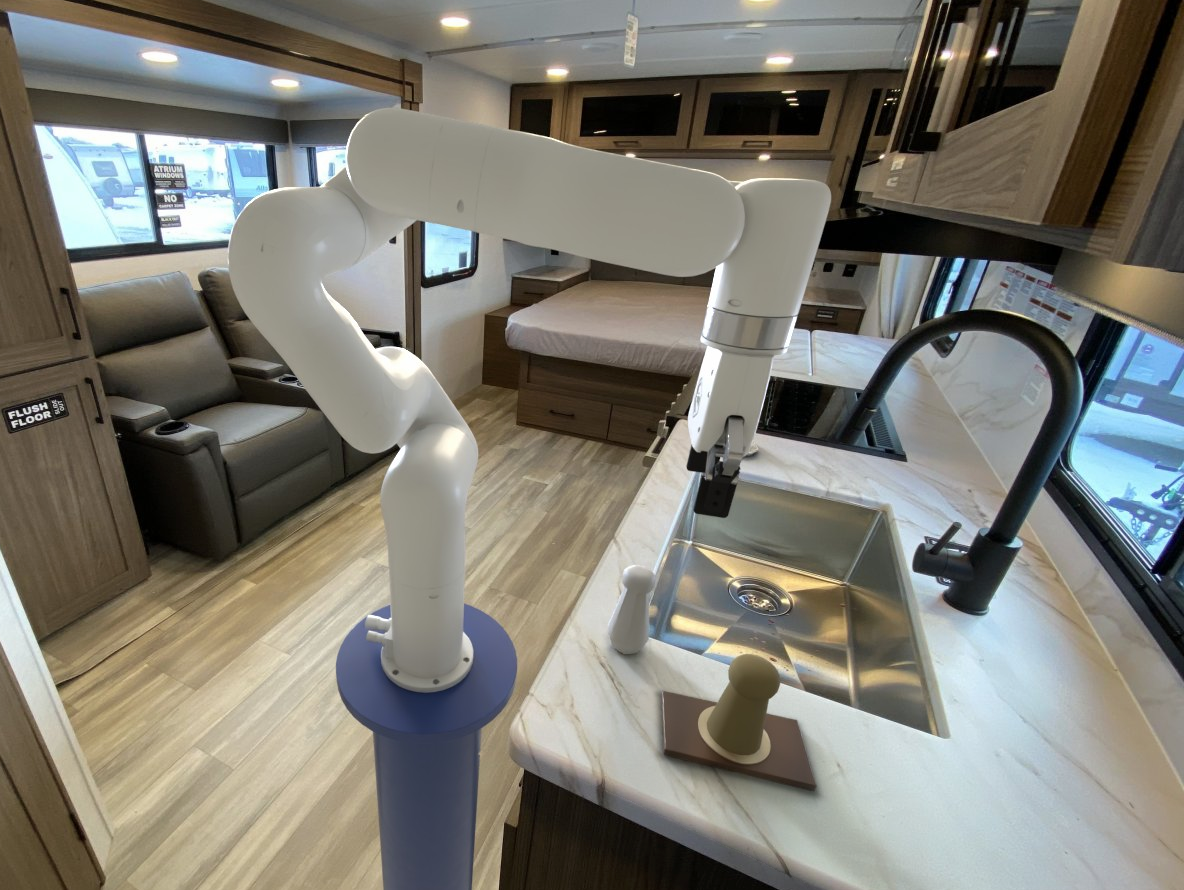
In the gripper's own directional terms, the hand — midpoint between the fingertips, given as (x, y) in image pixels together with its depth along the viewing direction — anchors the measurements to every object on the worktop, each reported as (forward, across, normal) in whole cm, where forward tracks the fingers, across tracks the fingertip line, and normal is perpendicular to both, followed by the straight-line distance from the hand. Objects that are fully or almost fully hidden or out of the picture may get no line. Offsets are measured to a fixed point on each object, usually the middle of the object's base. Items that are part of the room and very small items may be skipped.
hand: (704, 491), depth 61 cm
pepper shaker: (+29, +4, +9) cm, 31 cm away
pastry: (+30, -88, +21) cm, 95 cm away
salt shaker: (+31, -8, -4) cm, 32 cm away
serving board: (+30, +4, +9) cm, 32 cm away
